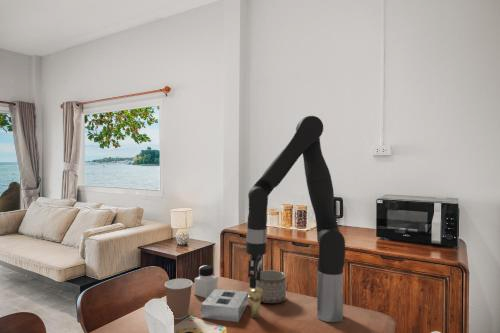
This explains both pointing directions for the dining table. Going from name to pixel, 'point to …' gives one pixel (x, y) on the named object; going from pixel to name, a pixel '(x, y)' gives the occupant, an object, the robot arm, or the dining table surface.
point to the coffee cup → (178, 296)
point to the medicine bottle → (205, 281)
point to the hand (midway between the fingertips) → (255, 283)
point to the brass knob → (255, 301)
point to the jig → (224, 305)
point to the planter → (272, 286)
